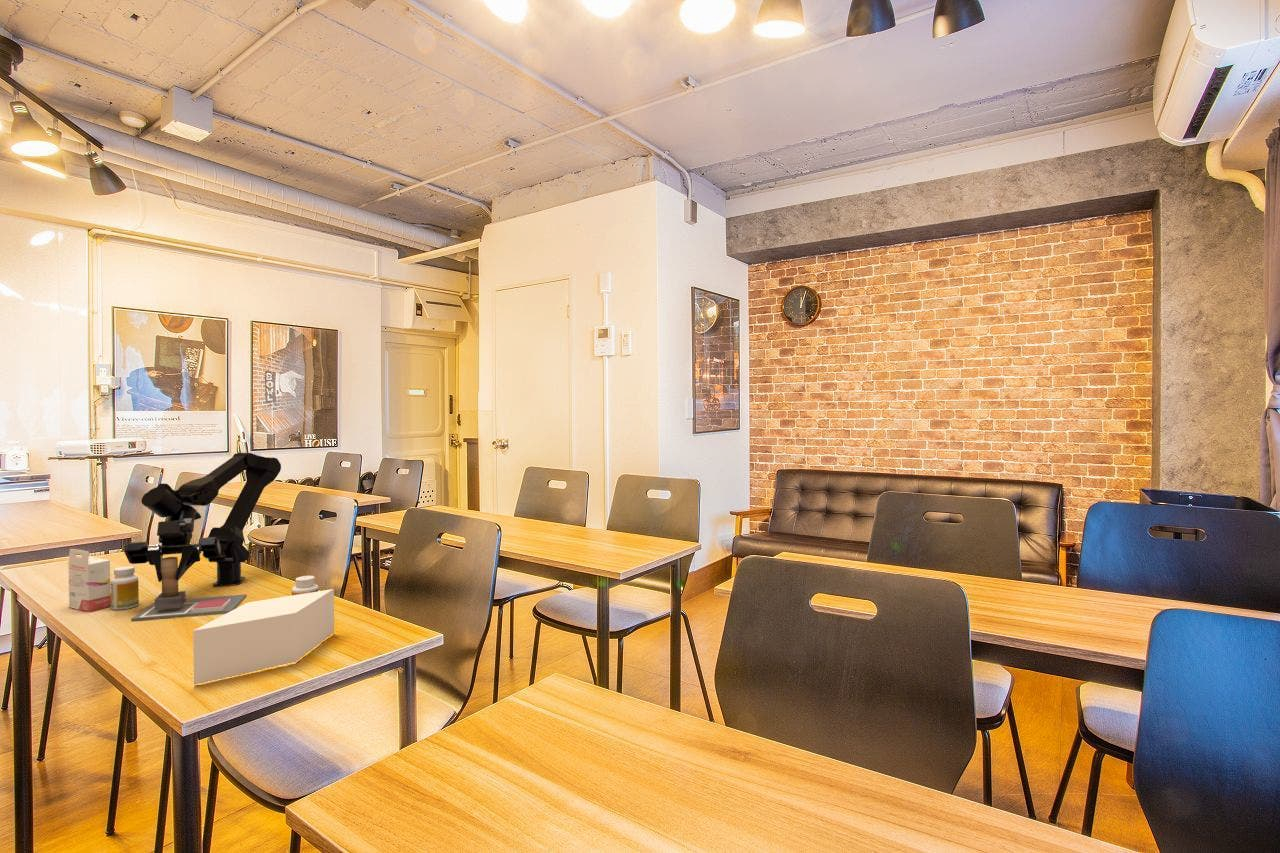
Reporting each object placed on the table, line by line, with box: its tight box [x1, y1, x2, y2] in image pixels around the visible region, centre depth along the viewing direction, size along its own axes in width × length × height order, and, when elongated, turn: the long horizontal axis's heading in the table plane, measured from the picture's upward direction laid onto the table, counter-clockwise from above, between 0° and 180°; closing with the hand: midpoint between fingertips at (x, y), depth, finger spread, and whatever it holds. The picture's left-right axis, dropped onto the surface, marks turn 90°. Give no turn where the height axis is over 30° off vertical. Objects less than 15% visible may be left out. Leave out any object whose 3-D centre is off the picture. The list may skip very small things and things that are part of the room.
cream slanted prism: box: [192, 588, 335, 686], centre depth 126 cm, size 14×29×10 cm, turn 155°
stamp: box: [154, 556, 187, 610], centre depth 153 cm, size 5×5×12 cm
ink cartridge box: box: [68, 548, 111, 613], centre depth 156 cm, size 9×5×15 cm, turn 68°
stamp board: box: [130, 593, 247, 622], centre depth 156 cm, size 14×20×2 cm
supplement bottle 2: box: [291, 575, 320, 596], centre depth 147 cm, size 6×6×10 cm
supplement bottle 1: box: [110, 565, 140, 611], centre depth 157 cm, size 5×5×10 cm
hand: (168, 580), depth 151 cm, fingers closed on stamp, 3 cm apart
